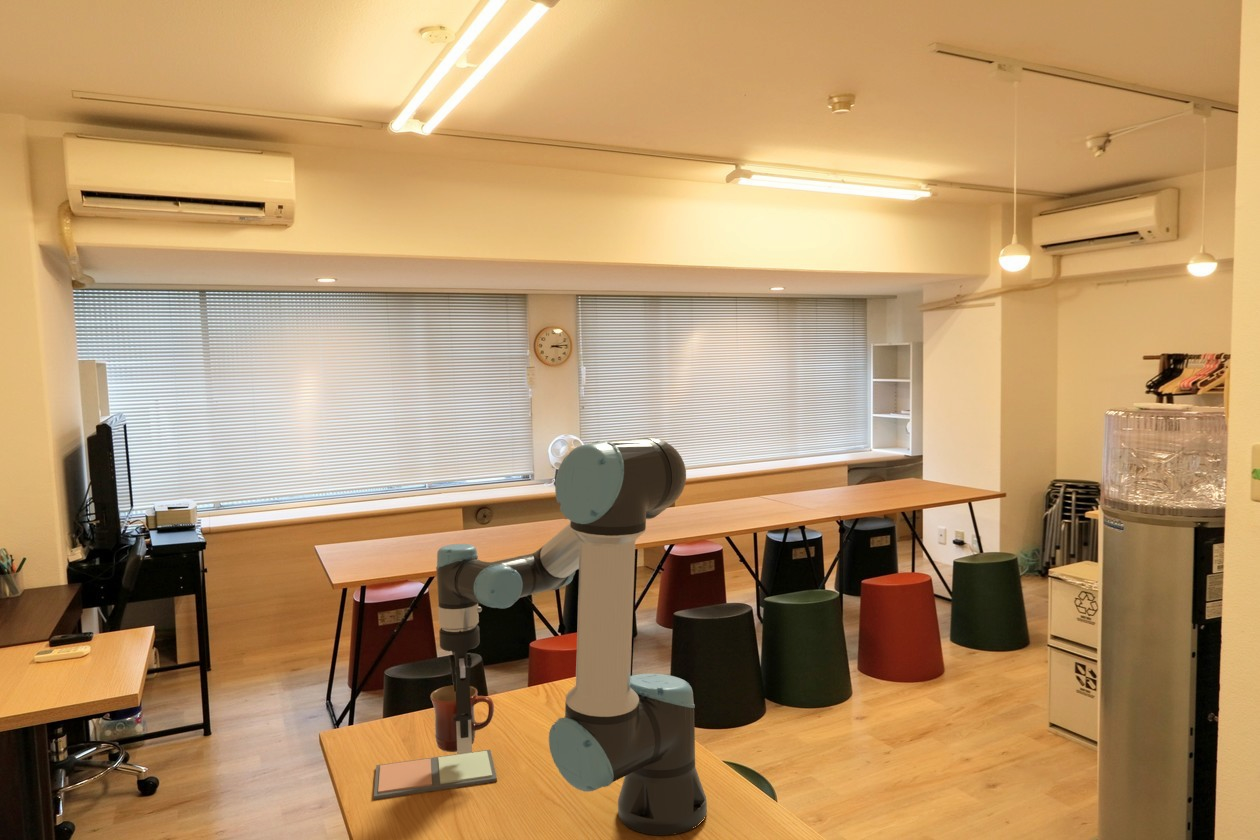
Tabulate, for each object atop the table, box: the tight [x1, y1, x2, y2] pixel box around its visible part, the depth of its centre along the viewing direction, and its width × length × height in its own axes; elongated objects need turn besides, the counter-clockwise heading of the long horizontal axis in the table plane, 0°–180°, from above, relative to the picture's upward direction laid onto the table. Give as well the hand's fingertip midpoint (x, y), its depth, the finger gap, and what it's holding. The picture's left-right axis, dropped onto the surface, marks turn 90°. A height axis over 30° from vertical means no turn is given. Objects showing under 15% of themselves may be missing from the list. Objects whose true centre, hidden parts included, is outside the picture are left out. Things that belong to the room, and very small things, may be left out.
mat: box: [373, 749, 498, 800], centre depth 160 cm, size 13×22×1 cm, turn 105°
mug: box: [430, 685, 495, 753], centre depth 161 cm, size 12×9×10 cm
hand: (463, 743), depth 161 cm, fingers closed on mug, 7 cm apart
